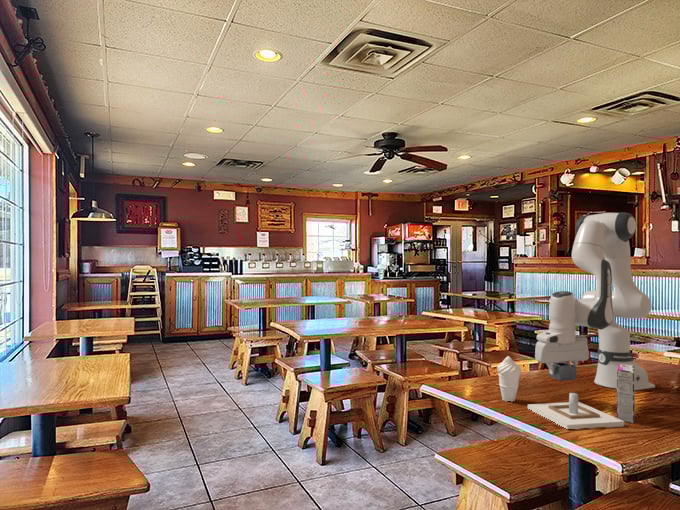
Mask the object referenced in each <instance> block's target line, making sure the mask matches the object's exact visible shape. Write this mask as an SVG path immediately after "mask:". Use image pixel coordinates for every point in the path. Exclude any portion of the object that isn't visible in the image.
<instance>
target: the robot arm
mask: <svg viewBox="0 0 680 510" xmlns="http://www.w3.org/2000/svg"><path fill="white" fill-rule="evenodd" d="M574 229H575V231H574V232H575V234H576V235H575V236H574V237H575V238H574V241H573V244H572V249H571V260H572V262H573V264H574V265H575V266H576V267H578V268H579V269H581V270H582V271H584V272H587V273H589V274H591V275H593V276H595V280H596V289H592V290H586V291H585V292H584V293H583V295H582V296H581V299H578V298H576V297H575V295H574V293H573V292H571V291H567V290H566V291H565V290H562V291H555V292H553V293H552V294H551V295H550V298H549V299H550V300H549V307H548V309H549V310H548V316H549V320H550V321H549V325H548V329H547V330H545V331H542V332H540V333H538V334H537V335H536V340H537V342H536V343H535V346H534V347H535V348H534V349H535V351H534V359H535V360H536V362H538V363H541V364H546V366H547V368H548V374H549V373H550V374H556V370H555V369H553V367H552V365H553V362H566V363H569V362H570V364H572V365H575V366H576V368H577V367H578V365H579V362H583V361H587V360H589V358H590V351H589V345H588V338H587V336H585V335H584V334H578V335H577V333H576V330H577V329H576V326H581V327H588V328H592V329H596V330H597V332H598V348H597V360H598V362H597V366H596V367H597V368H596V373H595V378H594V380H593V382H594V383H595V384H596V385H598V386H602V387H605V388H611V389H617V368H618V364H627V365H634V374H635V391H639V390H646V389H647V390H648V389H652V388H653V389H655V388H656V385H655V384H654V383H652V382H649V375H648V372H647V370H646V369H644V368H643V367H642V366H640V365H639V364H638V363H637V362H636V361H634V358H635V359H638V358H639V357H640V354H639V353H637V352H634V351H633V352H631V336H630V335H631V334H630V332H629V331H628V329H626V327H624V326H621V325H620V324H618V322H617V321H616V318H623V319H645V318H646V317H647V316H648V315H650V312H651V310H652V301H651V299H650V298H649V296H648V295H647V294H646V293H644V292H643V291H642V290H641V289H640V288H639V287H638V286H637V285H636V282H634V279H633V276H632V268H631V266H632V265H631V247H630V245H631V244H630V239H632V237H633V236H634V235H635V233H636V231H637V222H636V219H635V217H634V215H632V214H631V213H629V212H603V213H597V214H587V215H586V214H585V215H582V216H580V217H579V218H578V219H577V221H576V222H575V227H574ZM612 287H614V290H613V288H612Z"/></svg>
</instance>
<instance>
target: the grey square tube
mask: <svg viewBox="0 0 680 510" xmlns="http://www.w3.org/2000/svg"><path fill="white" fill-rule="evenodd" d="M552 367H553V369H555V370H556V374H550V373H549V372H548V377H551V378H552V379H555V380H558V381H559V382H560V381H561V382H563V381H565V382H566V381H576V380H577V367H576V366H575V365H572V363H569V362H553V365H552Z"/></svg>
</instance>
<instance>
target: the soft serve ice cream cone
mask: <svg viewBox="0 0 680 510" xmlns="http://www.w3.org/2000/svg"><path fill="white" fill-rule="evenodd" d="M496 370H497V373H498V379H499V380H498V381H499V383H498V386H499V388H500V394H501V399H502V401H504V402H507V401H511V402H510V403H513V401H514V402H515V401H516V397H517V392H518V389H519V382H520V376H521V374H522V368H521V367H520V365H519V364H518V363H516V361H514V360H513V359H512V358H511V357H510V356H508V355H507V356H506V357H505V358H504V359H503V360H502V362H500V363H499V364H498V365H497V368H496Z"/></svg>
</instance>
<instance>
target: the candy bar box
mask: <svg viewBox="0 0 680 510" xmlns="http://www.w3.org/2000/svg"><path fill="white" fill-rule="evenodd" d="M635 391H636V390H635V374H634V365H627V364H618V368H617V388H616V418H617V419H620V420H622V421H624V423H628V424H629V423H630V424H635V408H636V407H635V406H636V405H635V402H636V401H635V397H636V396H635V393H636V392H635Z"/></svg>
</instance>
